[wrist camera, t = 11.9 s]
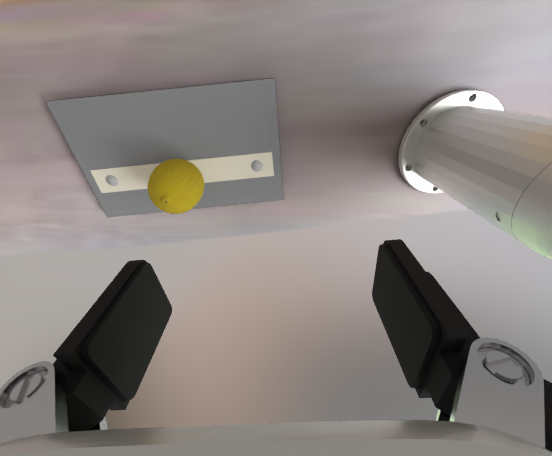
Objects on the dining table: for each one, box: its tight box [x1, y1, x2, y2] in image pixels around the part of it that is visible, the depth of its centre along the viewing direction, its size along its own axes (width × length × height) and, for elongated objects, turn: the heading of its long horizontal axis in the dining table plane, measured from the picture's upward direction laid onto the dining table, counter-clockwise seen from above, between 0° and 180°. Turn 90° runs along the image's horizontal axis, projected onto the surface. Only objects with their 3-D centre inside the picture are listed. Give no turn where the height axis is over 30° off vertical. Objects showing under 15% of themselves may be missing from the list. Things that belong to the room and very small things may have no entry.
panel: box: [46, 78, 284, 217], centre depth 30 cm, size 24×14×2 cm, turn 95°
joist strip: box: [90, 152, 274, 193], centre depth 30 cm, size 22×3×1 cm, turn 95°
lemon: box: [148, 159, 204, 214], centre depth 27 cm, size 6×6×8 cm
